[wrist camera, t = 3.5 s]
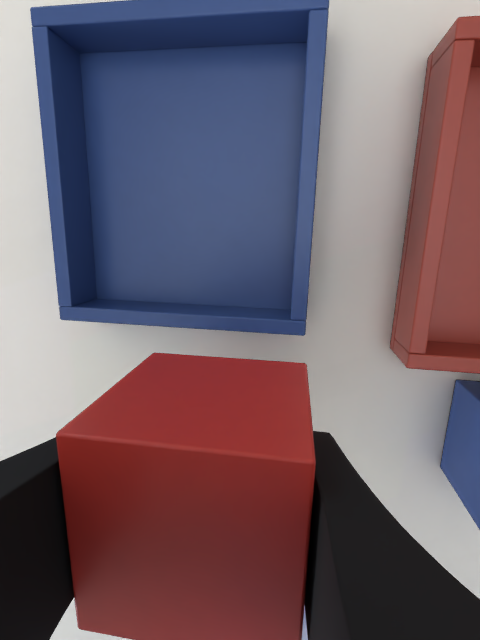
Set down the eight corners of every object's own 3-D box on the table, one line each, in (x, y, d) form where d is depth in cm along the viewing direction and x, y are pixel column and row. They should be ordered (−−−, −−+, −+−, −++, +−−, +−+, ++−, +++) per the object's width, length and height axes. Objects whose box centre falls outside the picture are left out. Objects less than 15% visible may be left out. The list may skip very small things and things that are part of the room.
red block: (297, 499, 11) (299, 673, 6) (158, 482, 11) (76, 630, 7) (307, 362, 10) (316, 460, 5) (153, 351, 10) (53, 433, 6)
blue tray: (303, 321, 16) (305, 336, 13) (92, 308, 17) (59, 320, 15) (323, 30, 13) (330, -16, 11) (72, 44, 15) (29, 6, 12)
